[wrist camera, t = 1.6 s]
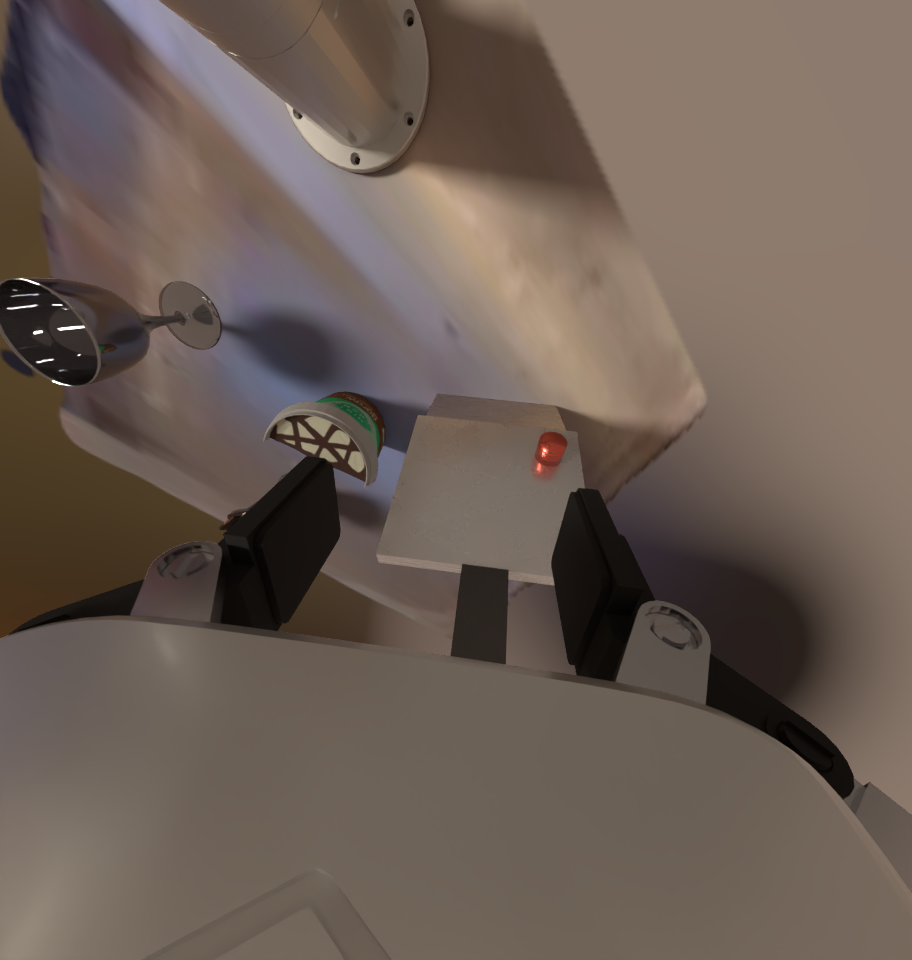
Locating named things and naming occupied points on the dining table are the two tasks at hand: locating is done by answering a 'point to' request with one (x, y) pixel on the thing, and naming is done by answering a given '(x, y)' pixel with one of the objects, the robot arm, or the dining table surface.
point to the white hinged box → (496, 411)
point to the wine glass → (95, 326)
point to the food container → (334, 432)
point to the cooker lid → (481, 516)
